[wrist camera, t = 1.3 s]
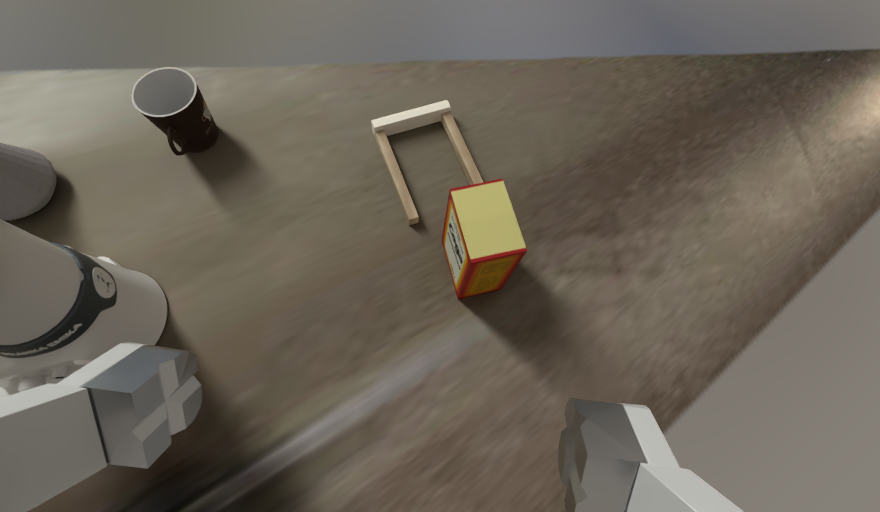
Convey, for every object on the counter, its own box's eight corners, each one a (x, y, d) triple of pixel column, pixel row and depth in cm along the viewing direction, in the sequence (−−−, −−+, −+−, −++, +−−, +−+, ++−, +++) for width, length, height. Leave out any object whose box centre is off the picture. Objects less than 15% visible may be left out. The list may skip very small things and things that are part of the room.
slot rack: (409, 225, 66) (409, 216, 63) (372, 132, 71) (371, 120, 68) (486, 200, 68) (490, 191, 65) (445, 111, 73) (447, 99, 71)
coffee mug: (184, 108, 71) (149, 61, 61) (234, 120, 70) (207, 75, 61) (150, 166, 67) (107, 126, 57) (203, 180, 66) (169, 141, 57)
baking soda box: (441, 240, 65) (450, 187, 50) (482, 231, 66) (503, 177, 51) (457, 299, 62) (471, 261, 47) (500, 289, 63) (527, 249, 48)
